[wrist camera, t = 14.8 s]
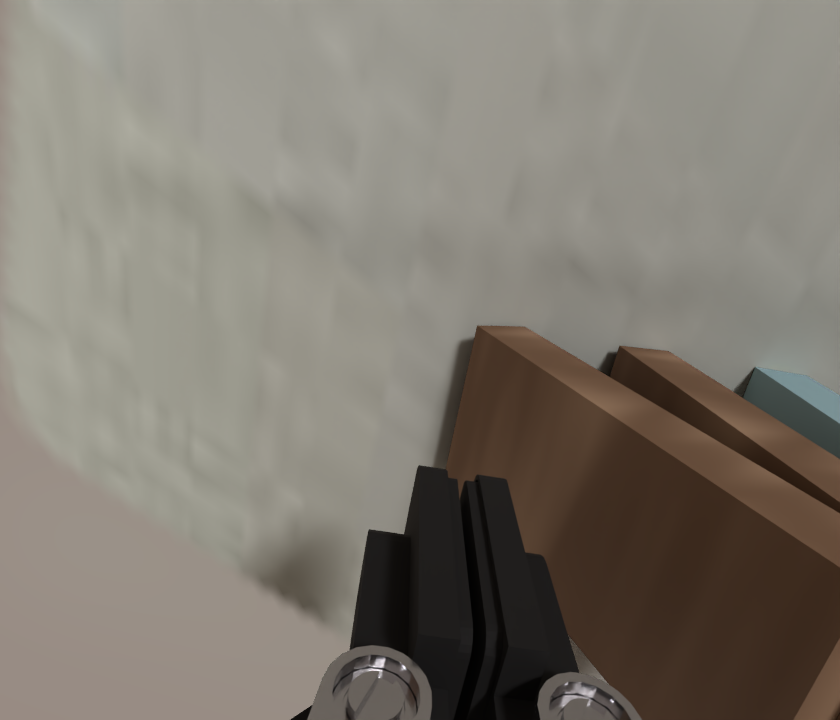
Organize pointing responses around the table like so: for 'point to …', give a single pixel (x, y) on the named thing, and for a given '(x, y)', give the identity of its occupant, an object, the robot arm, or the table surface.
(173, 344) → the table surface
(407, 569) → the robot arm
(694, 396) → the domino
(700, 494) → the domino
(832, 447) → the domino
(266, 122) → the table surface
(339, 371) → the table surface
